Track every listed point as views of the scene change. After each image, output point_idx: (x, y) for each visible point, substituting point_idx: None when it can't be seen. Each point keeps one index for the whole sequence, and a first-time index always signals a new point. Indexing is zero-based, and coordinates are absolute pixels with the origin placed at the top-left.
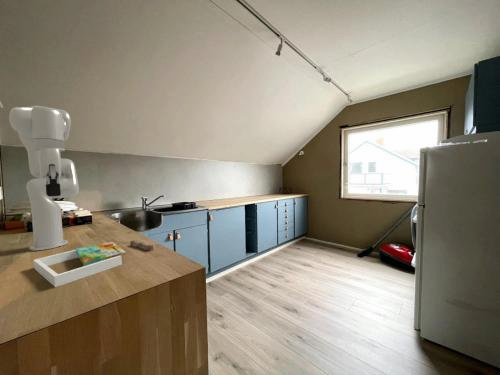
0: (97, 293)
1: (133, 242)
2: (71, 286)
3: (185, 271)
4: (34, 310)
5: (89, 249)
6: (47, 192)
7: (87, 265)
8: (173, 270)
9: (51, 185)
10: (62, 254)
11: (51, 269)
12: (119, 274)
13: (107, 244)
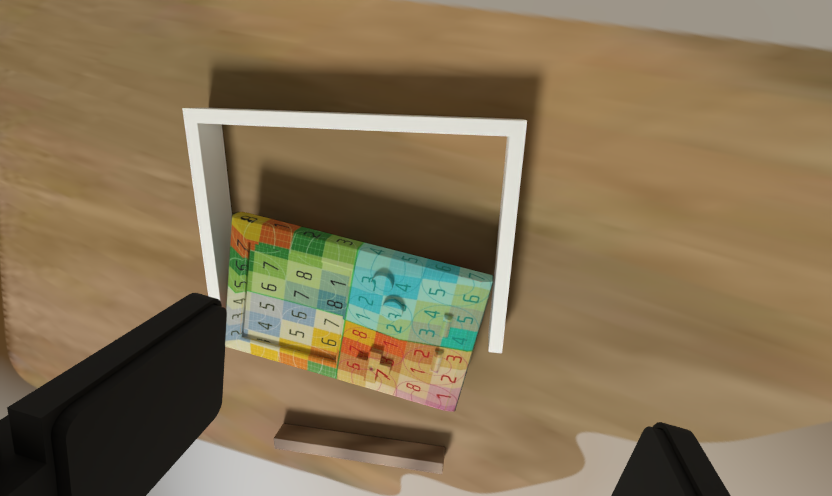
0: (64, 161)
1: (411, 455)
2: (173, 139)
3: (26, 347)
4: (83, 26)
5: (388, 299)
6: (156, 318)
7: (207, 213)
8: (55, 339)
9: (10, 434)
10: (500, 227)
11: (280, 126)
12: (149, 255)
13: (374, 365)
